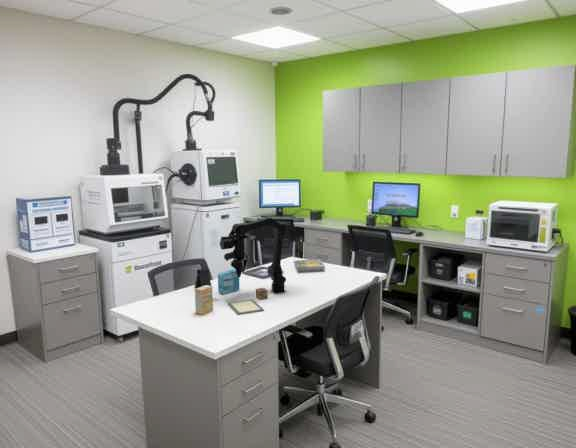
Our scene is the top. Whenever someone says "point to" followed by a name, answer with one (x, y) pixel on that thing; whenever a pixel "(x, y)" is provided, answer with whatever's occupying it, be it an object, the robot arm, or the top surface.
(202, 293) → the supplement box
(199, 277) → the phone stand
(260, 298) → the walnut cube
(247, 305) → the slate pad
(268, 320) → the top surface
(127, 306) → the top surface
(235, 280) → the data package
